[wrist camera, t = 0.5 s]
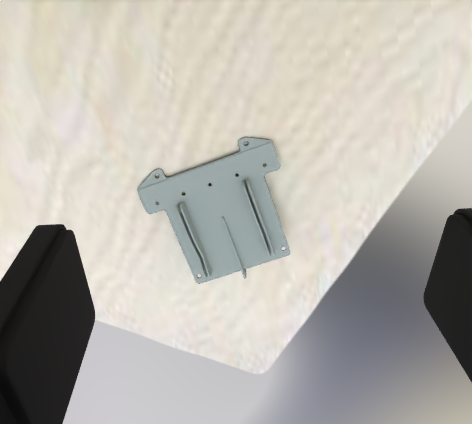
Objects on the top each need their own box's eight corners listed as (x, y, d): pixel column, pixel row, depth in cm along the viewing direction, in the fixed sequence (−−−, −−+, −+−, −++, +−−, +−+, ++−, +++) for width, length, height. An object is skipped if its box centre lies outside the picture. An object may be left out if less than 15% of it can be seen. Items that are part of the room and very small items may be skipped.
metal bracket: (313, 262, 43) (180, 303, 45) (306, 242, 48) (189, 280, 50) (268, 130, 39) (127, 182, 41) (266, 126, 45) (142, 172, 47)
